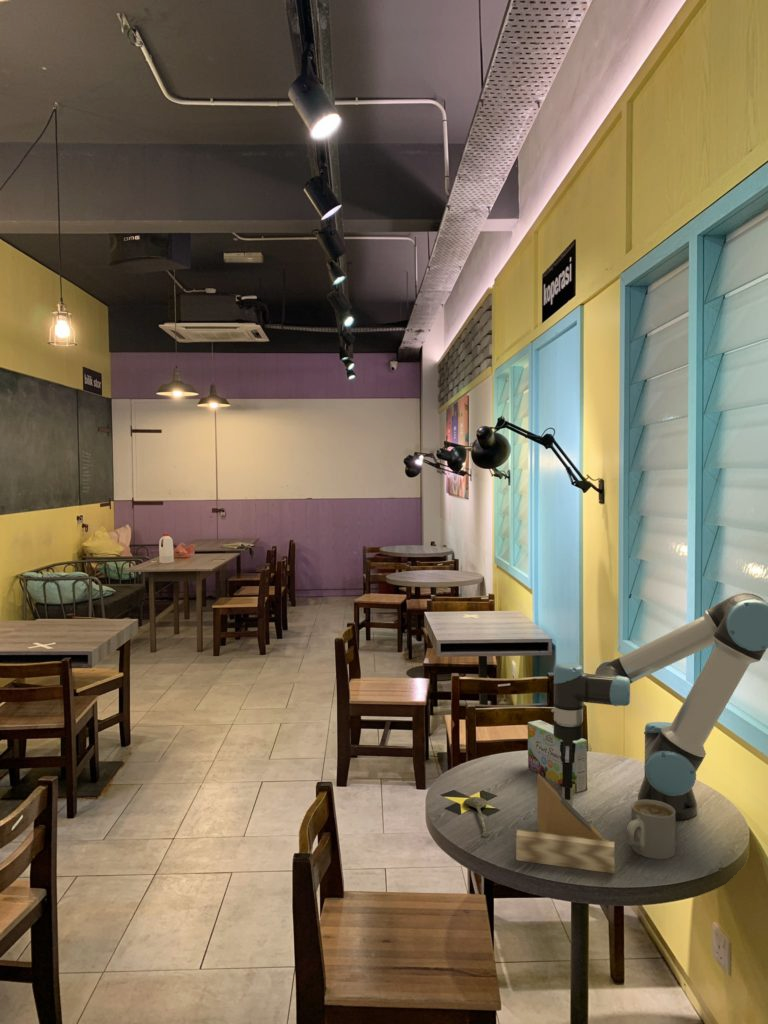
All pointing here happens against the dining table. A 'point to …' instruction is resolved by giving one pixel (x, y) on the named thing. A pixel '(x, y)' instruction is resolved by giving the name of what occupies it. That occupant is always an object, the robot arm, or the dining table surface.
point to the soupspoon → (478, 809)
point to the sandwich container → (560, 814)
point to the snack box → (554, 755)
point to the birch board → (565, 850)
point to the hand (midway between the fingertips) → (567, 809)
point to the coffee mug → (652, 829)
